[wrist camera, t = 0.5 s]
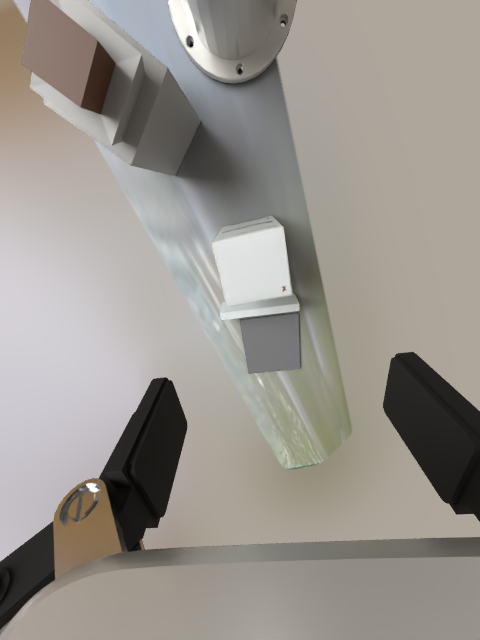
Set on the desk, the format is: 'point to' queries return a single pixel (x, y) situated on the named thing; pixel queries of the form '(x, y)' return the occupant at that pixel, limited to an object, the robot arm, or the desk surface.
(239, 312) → the frosted wall
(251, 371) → the charcoal mat
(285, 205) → the desk surface
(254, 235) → the supplement box
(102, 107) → the perfume bottle
